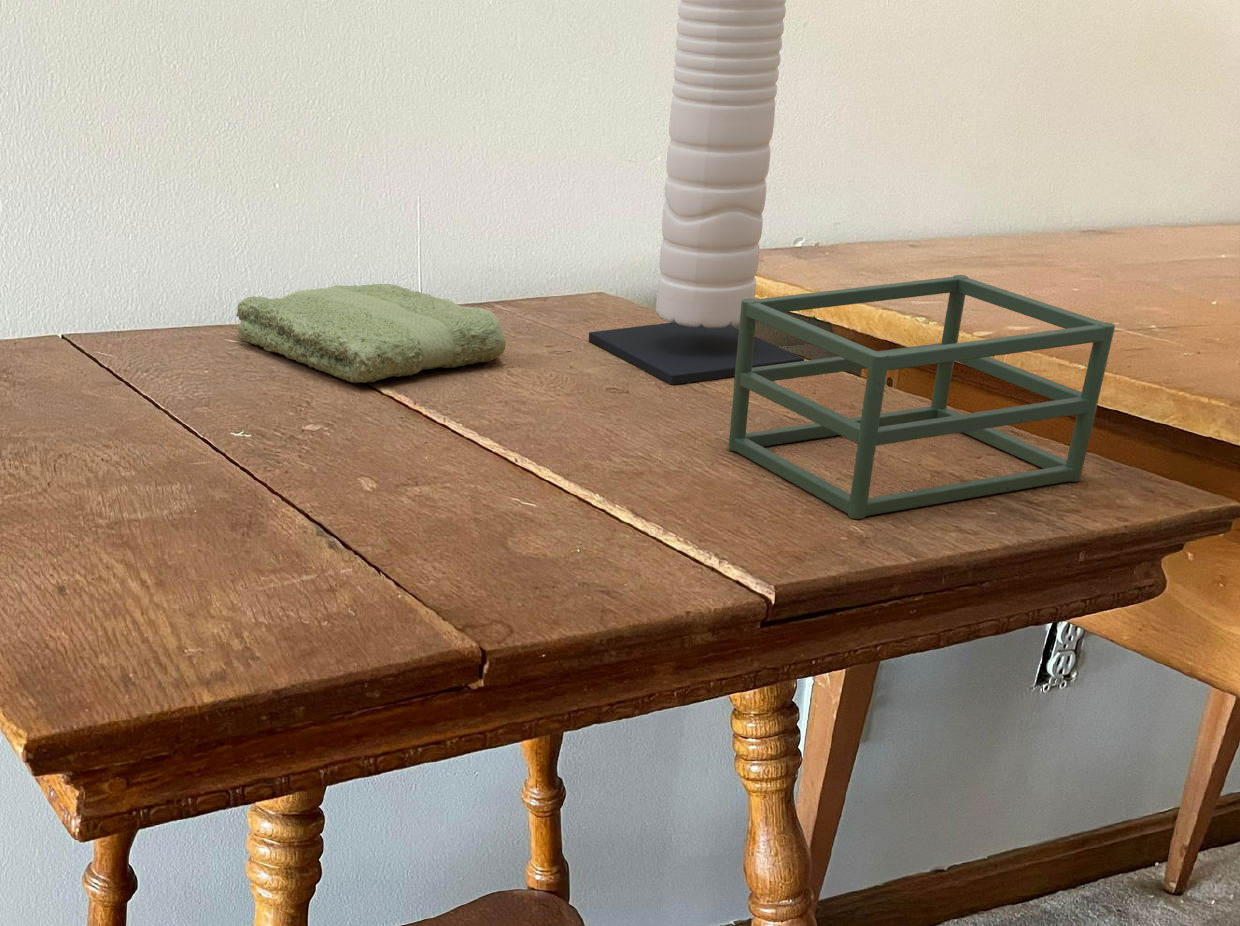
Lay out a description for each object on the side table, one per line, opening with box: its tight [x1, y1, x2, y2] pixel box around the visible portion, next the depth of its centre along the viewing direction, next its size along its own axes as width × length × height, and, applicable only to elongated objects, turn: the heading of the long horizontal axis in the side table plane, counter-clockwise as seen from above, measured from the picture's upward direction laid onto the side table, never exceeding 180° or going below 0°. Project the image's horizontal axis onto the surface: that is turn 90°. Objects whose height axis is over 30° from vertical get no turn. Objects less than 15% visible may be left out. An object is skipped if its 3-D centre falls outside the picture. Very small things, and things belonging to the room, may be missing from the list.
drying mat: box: [588, 322, 805, 386], centre depth 104 cm, size 12×10×1 cm
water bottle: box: [655, 0, 787, 328], centre depth 96 cm, size 9×6×25 cm
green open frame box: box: [728, 274, 1116, 520], centre depth 83 cm, size 13×15×8 cm
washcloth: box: [235, 283, 507, 383], centre depth 104 cm, size 13×18×3 cm
